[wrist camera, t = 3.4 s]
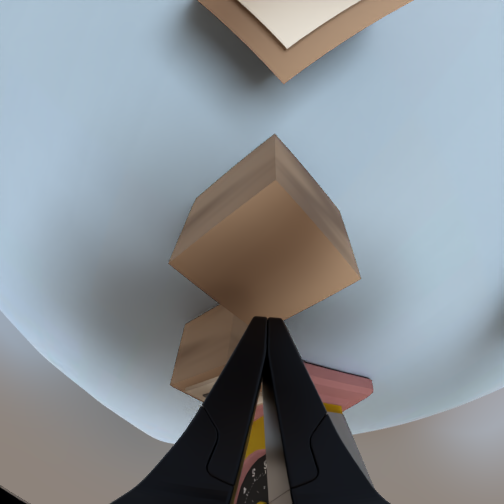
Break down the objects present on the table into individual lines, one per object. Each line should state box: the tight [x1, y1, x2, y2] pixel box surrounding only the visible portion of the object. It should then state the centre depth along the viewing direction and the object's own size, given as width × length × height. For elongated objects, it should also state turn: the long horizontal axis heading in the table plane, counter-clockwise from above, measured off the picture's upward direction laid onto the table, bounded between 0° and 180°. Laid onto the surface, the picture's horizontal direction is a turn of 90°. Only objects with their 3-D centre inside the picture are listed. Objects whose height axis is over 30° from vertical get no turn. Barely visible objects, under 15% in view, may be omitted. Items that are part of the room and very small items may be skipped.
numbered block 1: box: [170, 304, 263, 406], centre depth 19 cm, size 5×5×5 cm
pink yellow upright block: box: [234, 362, 374, 504], centre depth 20 cm, size 22×9×22 cm, turn 154°
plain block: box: [168, 134, 361, 325], centre depth 13 cm, size 5×5×5 cm
